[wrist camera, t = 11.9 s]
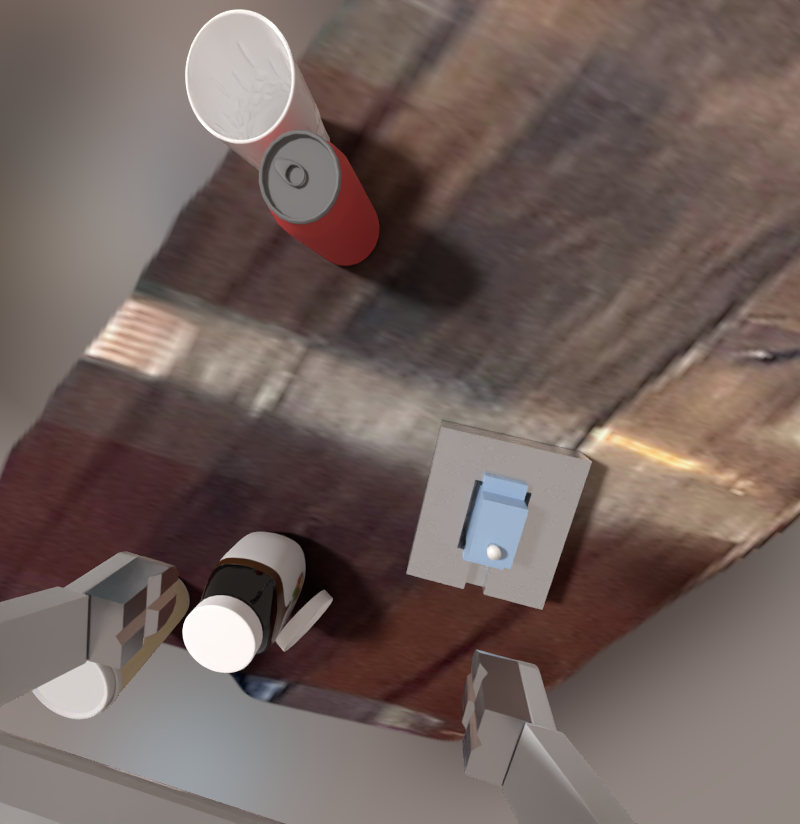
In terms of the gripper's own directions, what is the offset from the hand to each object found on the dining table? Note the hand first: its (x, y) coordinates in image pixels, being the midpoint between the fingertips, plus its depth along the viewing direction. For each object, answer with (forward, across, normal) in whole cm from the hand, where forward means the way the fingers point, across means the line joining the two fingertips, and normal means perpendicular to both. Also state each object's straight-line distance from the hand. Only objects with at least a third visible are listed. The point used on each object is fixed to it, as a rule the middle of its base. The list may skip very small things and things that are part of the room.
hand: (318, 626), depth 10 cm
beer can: (+29, +10, -16) cm, 35 cm away
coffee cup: (+29, +26, +30) cm, 49 cm away
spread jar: (+29, +10, +22) cm, 38 cm away
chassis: (+29, -10, +8) cm, 32 cm away
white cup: (+29, +16, -22) cm, 40 cm away
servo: (+28, -10, +8) cm, 31 cm away
